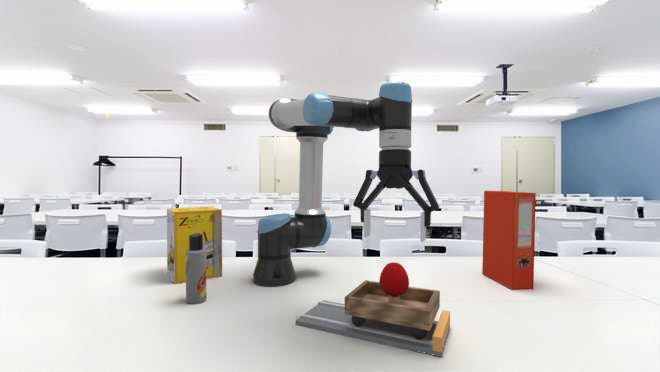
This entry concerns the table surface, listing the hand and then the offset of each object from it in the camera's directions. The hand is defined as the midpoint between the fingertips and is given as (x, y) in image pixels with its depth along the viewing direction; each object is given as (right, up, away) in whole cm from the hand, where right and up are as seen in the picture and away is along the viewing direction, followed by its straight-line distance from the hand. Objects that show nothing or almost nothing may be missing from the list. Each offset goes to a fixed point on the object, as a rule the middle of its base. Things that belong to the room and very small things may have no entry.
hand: (394, 238), depth 80 cm
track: (-5, -22, +3) cm, 23 cm away
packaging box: (-67, -21, +46) cm, 84 cm away
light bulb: (0, -17, 0) cm, 17 cm away
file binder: (+47, -22, +39) cm, 65 cm away
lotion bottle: (-55, -22, +19) cm, 62 cm away
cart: (0, -20, 0) cm, 20 cm away
